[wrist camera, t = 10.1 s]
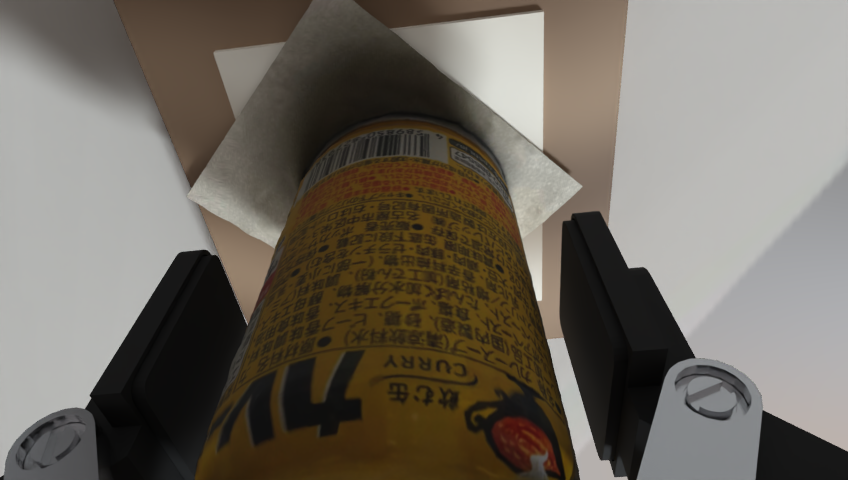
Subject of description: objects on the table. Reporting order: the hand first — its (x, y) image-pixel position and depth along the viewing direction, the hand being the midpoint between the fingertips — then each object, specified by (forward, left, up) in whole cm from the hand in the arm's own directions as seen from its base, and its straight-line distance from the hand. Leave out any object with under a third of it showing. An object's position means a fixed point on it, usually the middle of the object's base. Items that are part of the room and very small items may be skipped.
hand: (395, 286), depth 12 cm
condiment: (0, -1, -4) cm, 4 cm away
